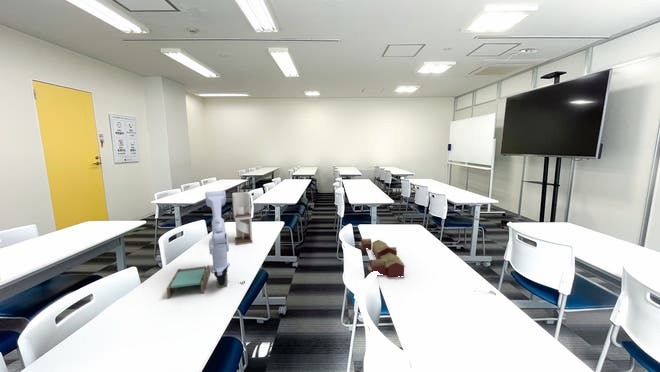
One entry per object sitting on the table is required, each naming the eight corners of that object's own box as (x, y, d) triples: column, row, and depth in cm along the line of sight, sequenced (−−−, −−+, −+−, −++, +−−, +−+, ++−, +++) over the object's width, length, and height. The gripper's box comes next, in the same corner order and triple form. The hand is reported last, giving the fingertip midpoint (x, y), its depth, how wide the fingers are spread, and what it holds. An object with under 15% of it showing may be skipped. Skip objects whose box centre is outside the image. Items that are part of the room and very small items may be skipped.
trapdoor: (181, 273, 134) (180, 268, 134) (206, 270, 137) (206, 265, 137) (170, 291, 117) (170, 286, 117) (200, 287, 121) (199, 282, 120)
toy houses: (408, 277, 136) (409, 259, 134) (370, 279, 135) (370, 260, 133) (385, 245, 180) (385, 231, 179) (355, 246, 179) (356, 232, 178)
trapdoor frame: (179, 277, 136) (178, 268, 135) (210, 274, 140) (209, 265, 139) (167, 298, 117) (166, 288, 116) (203, 293, 121) (202, 283, 120)
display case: (234, 240, 191) (232, 192, 185) (250, 237, 195) (247, 191, 190) (236, 245, 180) (233, 195, 175) (252, 242, 185) (250, 194, 180)
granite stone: (218, 283, 130) (217, 275, 129) (227, 282, 131) (227, 273, 131) (217, 288, 126) (216, 279, 125) (227, 286, 127) (226, 278, 126)
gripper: (228, 261, 121) (229, 288, 123) (230, 249, 134) (232, 274, 136) (211, 263, 119) (213, 291, 121) (215, 251, 132) (217, 276, 134)
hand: (222, 282), depth 128 cm, fingers closed on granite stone, 4 cm apart
